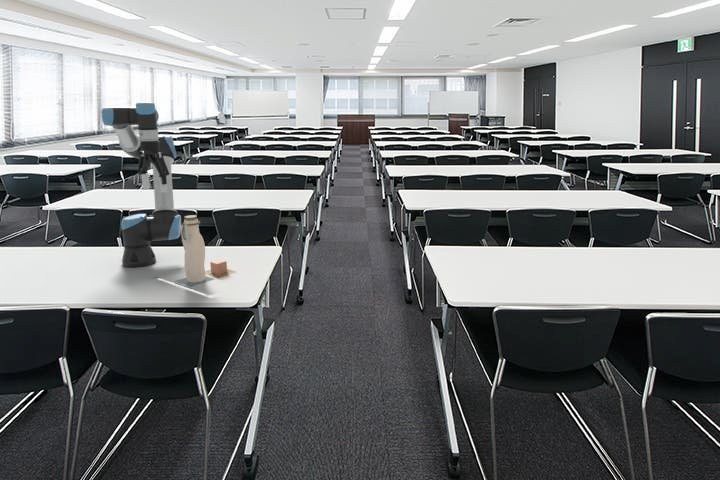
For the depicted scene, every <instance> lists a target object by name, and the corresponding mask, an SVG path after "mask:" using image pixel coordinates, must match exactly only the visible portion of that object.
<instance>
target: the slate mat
mask: <svg viewBox="0 0 720 480" xmlns="http://www.w3.org/2000/svg"><path fill="white" fill-rule="evenodd" d="M213 280H215V278H213V277H210V276H207V275H206V280H204V281H202V282H196V283H192V282H188V280H187V276H186V277H183V278H180V279H176V280H174V284H175V285H179V286H182V287H183V288H187V289H191V290H193V288H192V287H196V286H198V285H202V284H204V283H207V282H209V281H210V282H211V281H213Z"/></svg>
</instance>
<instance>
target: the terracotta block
mask: <svg viewBox="0 0 720 480" xmlns="http://www.w3.org/2000/svg"><path fill="white" fill-rule="evenodd" d="M209 263H210V270H211V273H214V274H218V275H219V274H222V273H225V272H227V269H228V266H227V265H228V263H227V260H223V259H220V258H218V259H216V260H212V261H210V262H209Z"/></svg>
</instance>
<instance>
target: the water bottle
mask: <svg viewBox="0 0 720 480" xmlns="http://www.w3.org/2000/svg"><path fill="white" fill-rule="evenodd" d="M200 224H201V221H200V220H198V218H197V215H195V214H192V215H184V220H183V222H182V224H181V225H180V229H181V232H180V236H181V243H182V246H183V249H184V260H183V261H184V270H185V275H186V277H187V280H188V282H192V283H196V282H202V281H204V280H206V276H207V274H205V271H206V269H205V260H206V245H205V244H206V243H205V241H204V238H203V236H202V234H201V233H200V228H199V227H200Z"/></svg>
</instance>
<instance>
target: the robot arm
mask: <svg viewBox="0 0 720 480" xmlns="http://www.w3.org/2000/svg"><path fill="white" fill-rule="evenodd" d="M159 119H160V118H159V112H158V111H157V108H156V104H155V102H152V101H151V102H149V101H148V102H147V101H146V102H142V101H141V102H136V103H135V106H129V107H128V106H123V107H121V106H120V107H119V106H118V107H115V106H110V107H103V108H101V120H102V123H103V125H104V126H107V127H108V126H110V127H112V128H113V130H114V132H115V134H116V136H117V138H118V140H119V141H118V143H119V146H120V149H121V150H122V151H123V152H124V153H125V154H126V155H129V157H133V158H135V159H138V163H137V165H138V166H137V173H140V175H141V183H142V190H149V189H151V187H150V181H149V179H150V178H149V172H148V170H149V169H150V168H149V167H150V165H151V164H152V174H153V175H152V178H153V192H154V208H155V209H154V210H153V211H152V212H151V213H152V216H148V215H147V214H146V213H137V214H132V215H128V216H126V217H124V218H122V220H121V222H120V225H121V233H122V241H123V247H124V248H123V255H122V259H121V263H122V266H123V267H126V268H139V267H142V268H143V267H146V266H149V265H153V264H154V263H156V262H157V258H156V254H155V252H154V250H153V248H152V245H151V242H154V241H156V242H157V241H167V240H168V241H171V240H176V239H179V237H180V236H181V229H180V225H182V215H180V214H178V211H177V210H176V209H175V204H174V202H175V201H174V191H173V190H174V189H173V177H172V176H173V174H172V164H174V162H175V159H176V158H177V151H176V148H175V143H174V138H173V136H171V135H170V134H169V135H168V134H159V129H158V121H159ZM133 126H137V127H138V134H136V132H135V131H134V128H133Z"/></svg>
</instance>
